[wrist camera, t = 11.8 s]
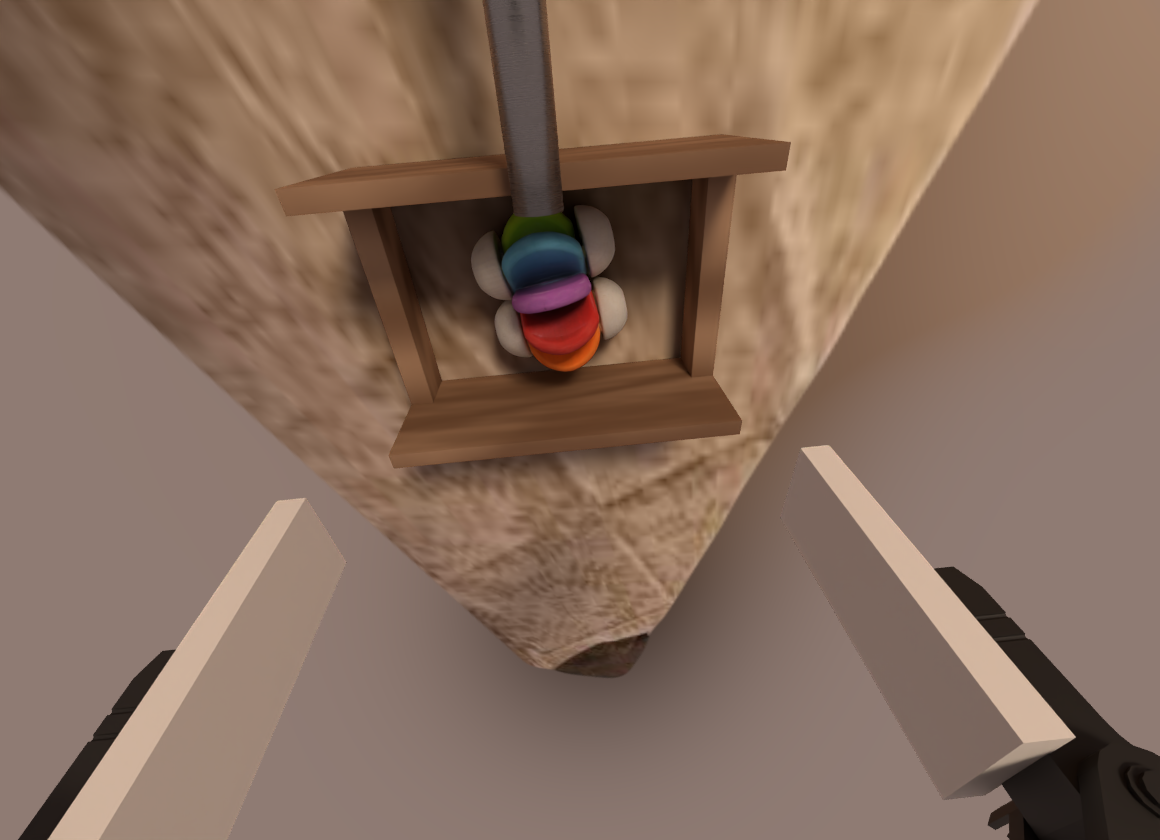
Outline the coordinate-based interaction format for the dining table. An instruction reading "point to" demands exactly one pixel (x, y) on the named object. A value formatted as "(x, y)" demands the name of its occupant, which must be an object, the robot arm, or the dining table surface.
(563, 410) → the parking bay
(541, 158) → the rod
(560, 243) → the rainbow disc toy
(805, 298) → the dining table surface
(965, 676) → the robot arm
